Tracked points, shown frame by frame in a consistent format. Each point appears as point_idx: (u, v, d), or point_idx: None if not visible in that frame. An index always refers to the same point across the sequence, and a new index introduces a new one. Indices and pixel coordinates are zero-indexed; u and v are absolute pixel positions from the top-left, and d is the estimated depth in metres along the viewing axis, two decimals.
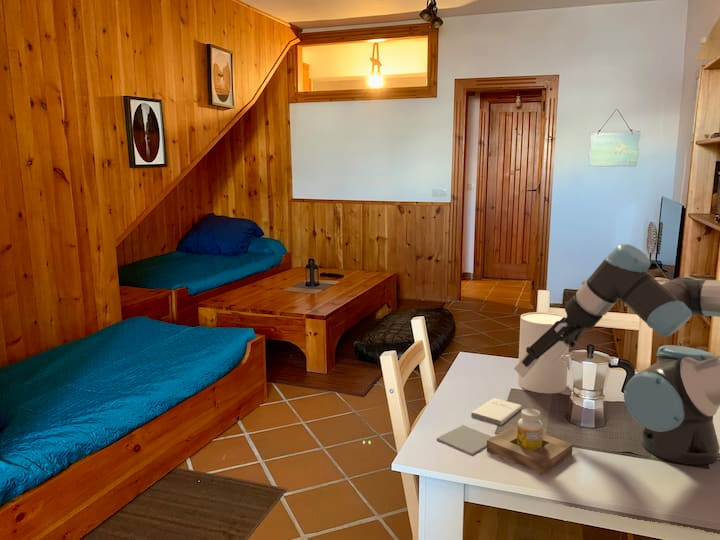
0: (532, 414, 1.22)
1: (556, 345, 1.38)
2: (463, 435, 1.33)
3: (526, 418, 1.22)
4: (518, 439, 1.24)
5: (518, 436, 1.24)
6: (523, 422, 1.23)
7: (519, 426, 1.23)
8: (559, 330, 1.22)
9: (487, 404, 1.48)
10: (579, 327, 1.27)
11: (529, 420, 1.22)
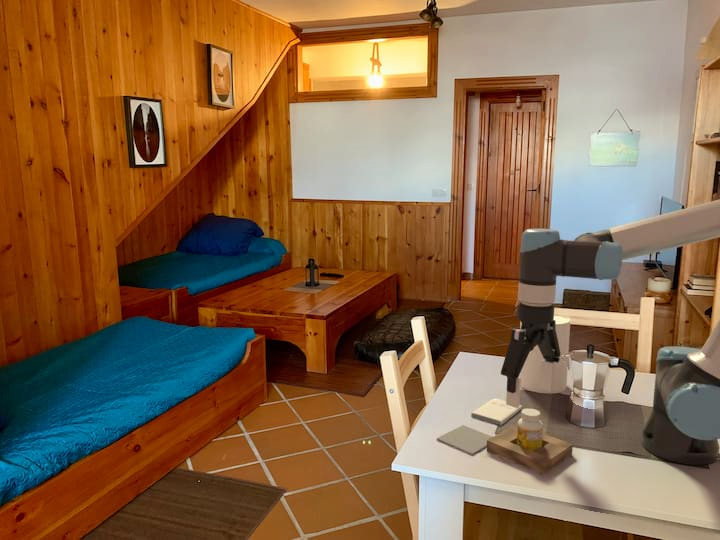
0: (532, 414, 1.22)
1: (543, 369, 1.27)
2: (463, 435, 1.33)
3: (526, 418, 1.22)
4: (518, 439, 1.24)
5: (518, 436, 1.24)
6: (523, 422, 1.23)
7: (519, 426, 1.23)
8: (518, 336, 1.15)
9: (487, 404, 1.48)
10: (542, 330, 1.20)
11: (529, 420, 1.22)
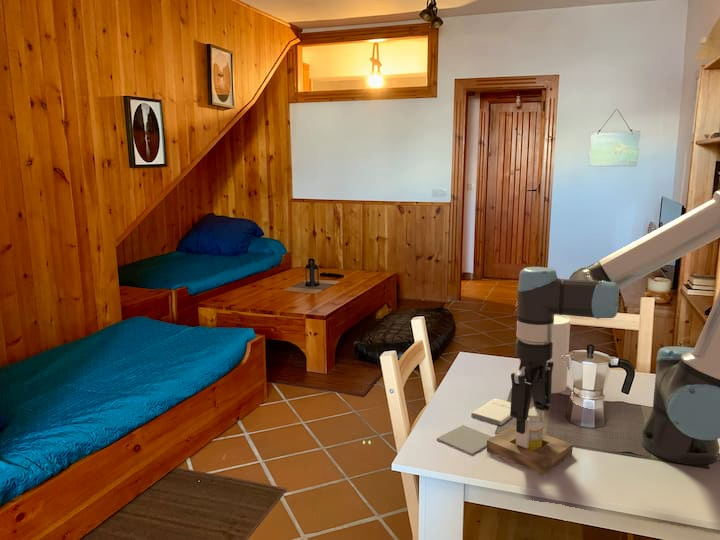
0: (532, 414, 1.22)
1: None
2: (463, 435, 1.33)
3: None
4: None
5: None
6: None
7: None
8: (518, 381, 1.17)
9: (487, 404, 1.48)
10: (542, 366, 1.21)
11: None
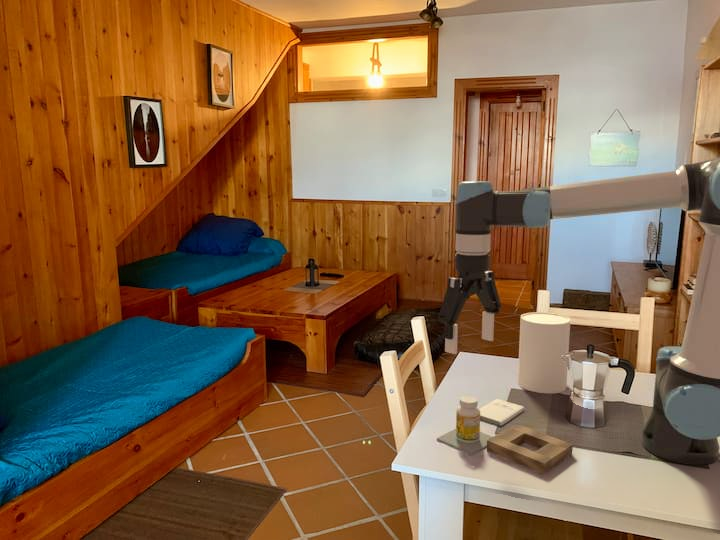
0: (469, 401, 1.28)
1: (484, 320, 1.31)
2: None
3: (463, 405, 1.28)
4: (457, 425, 1.30)
5: (457, 422, 1.30)
6: (461, 409, 1.29)
7: (457, 413, 1.29)
8: (454, 283, 1.20)
9: (489, 405, 1.48)
10: (479, 280, 1.24)
11: (466, 407, 1.28)
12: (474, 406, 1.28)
